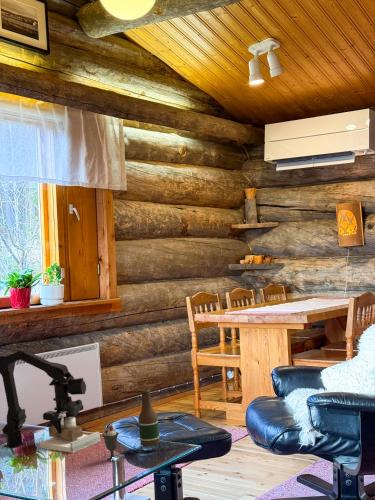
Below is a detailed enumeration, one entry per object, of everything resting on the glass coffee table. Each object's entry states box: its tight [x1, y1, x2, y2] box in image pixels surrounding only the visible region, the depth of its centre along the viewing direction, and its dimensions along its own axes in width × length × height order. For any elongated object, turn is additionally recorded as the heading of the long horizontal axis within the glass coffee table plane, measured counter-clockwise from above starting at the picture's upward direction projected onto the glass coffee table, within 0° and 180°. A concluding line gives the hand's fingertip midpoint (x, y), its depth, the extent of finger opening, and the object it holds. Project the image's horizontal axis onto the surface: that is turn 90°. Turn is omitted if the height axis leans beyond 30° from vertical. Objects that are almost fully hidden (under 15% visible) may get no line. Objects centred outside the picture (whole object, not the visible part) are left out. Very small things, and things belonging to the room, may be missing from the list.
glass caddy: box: [48, 415, 84, 440], centre depth 304 cm, size 14×6×8 cm, turn 53°
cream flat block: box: [39, 431, 101, 454], centre depth 303 cm, size 20×16×4 cm
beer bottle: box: [138, 388, 161, 446], centre depth 286 cm, size 8×8×24 cm
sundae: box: [101, 422, 120, 463], centre depth 277 cm, size 7×7×15 cm
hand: (65, 431), depth 304 cm, fingers closed on glass caddy, 6 cm apart
